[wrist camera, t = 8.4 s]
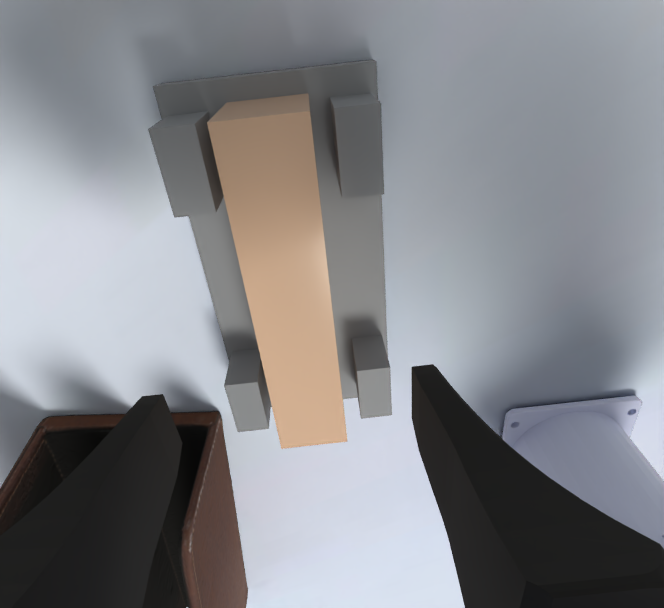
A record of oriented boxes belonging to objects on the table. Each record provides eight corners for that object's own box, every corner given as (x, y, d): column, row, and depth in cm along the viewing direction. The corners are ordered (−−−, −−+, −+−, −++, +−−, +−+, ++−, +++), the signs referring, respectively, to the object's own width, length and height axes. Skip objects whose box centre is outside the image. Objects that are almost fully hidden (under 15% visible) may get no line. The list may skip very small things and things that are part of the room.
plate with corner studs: (386, 381, 25) (397, 428, 22) (244, 397, 25) (237, 446, 22) (372, 59, 17) (387, 66, 14) (160, 83, 17) (130, 96, 14)
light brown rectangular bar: (341, 382, 24) (347, 441, 20) (284, 388, 24) (281, 448, 20) (308, 93, 16) (309, 111, 13) (226, 102, 16) (207, 122, 13)
